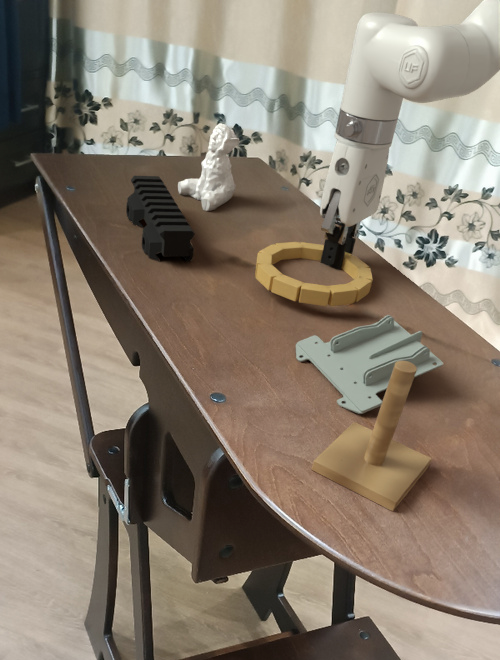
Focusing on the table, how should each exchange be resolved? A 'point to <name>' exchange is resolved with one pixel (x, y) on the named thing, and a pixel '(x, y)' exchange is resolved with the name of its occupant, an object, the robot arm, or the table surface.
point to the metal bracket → (366, 360)
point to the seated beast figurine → (214, 171)
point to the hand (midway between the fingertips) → (334, 264)
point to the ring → (308, 291)
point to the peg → (377, 450)
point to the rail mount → (159, 219)
